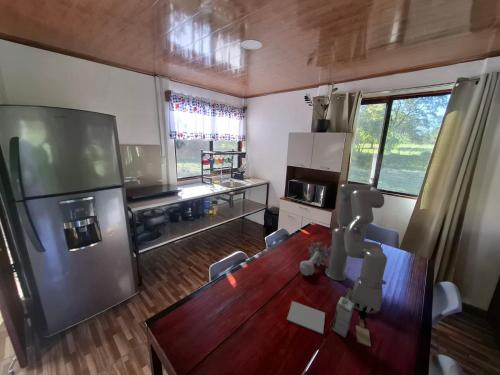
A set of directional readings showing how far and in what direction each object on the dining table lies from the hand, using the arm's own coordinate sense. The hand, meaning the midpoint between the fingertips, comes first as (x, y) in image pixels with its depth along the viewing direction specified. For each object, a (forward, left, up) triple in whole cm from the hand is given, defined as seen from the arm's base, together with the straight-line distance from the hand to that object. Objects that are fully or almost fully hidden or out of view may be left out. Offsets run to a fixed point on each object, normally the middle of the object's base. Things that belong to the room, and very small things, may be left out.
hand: (361, 317), depth 86 cm
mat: (0, -22, -10) cm, 24 cm away
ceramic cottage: (-24, +4, -10) cm, 26 cm away
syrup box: (0, -7, -10) cm, 12 cm away
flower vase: (-41, -24, -10) cm, 49 cm away
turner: (-4, +2, -10) cm, 11 cm away
